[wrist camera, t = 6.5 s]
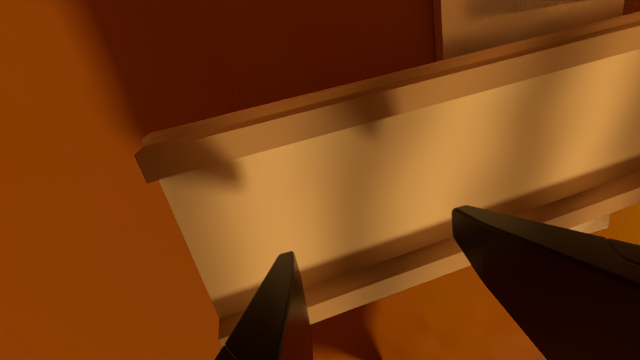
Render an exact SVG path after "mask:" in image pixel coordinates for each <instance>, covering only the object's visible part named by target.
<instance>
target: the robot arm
mask: <svg viewBox="0 0 640 360" xmlns="http://www.w3.org/2000/svg"><path fill="white" fill-rule="evenodd" d="M452 233H453V237H454V239H455V241H456V243H457V244H458V246H459V247H460V249H461V250H462V252H463V253H464V255H465V256H466V258H467V259H468V261H469V262H470V264H471V265H472V267H473V268H474V270H475V271H476V273H477V274H478V276H479V277H480V279H481V280H482V281H483V283H484V284H485V285H486V287H487V288H488V289H489V290H490V292H491V293H492V294H493V295H494V296H495V298H496V299H497V300H498V301H499V302H500V304H501V305H502V306H503V307H504V308H505V310H506V311H507V312H508V313H509V314H510V316H511V317H512V318H513V319H514V320H515V322H516V323H517V324H518V325H519V326H520V328H521V329H522V330H523V331H524V333H525V334H526V335H527V336H528V337H529V339H530V340H531V341H532V342H533V343H534V345H535V346H536V347H537V348H538V349H539V351H540V352H541V353H542V354H543V355H544V357H545V358H546V359H547V360H640V245H636V244H631V243H627V242H623V241H619V240H614V239H610V238H609V239H606V238H605V237H601V236H597V235H593V234H588V233H584V232H580V231H576V230H571V229H567V228H563V227H558V226H554V225H550V224H546V223H541V222H537V221H533V220H529V219H524V218H520V217H516V216H512V215H507V214H503V213H499V212H494V211H490V210H486V209H482V208H477V207H473V206H469V205H464V206H460V207H456V208H454V209H453V210H452ZM215 360H313V350H312V336H311V327H310V321H309V315H308V310H307V305H306V300H305V294H304V289H303V284H302V279H301V275H300V271H299V268H298V264H297V261H296V257H295V254H294V252H293V251H289V252H285V253H281V254H279V255H278V257H277V258H276V260H275V262H274V263H273V265H272V267H271V268H270V270H269V272H268V273H267V275H266V277H265V278H264V280H263V281H262V283H261V285H260V286H259V288H258V290H257V291H256V293H255V295H254V296H253V298H252V300H251V301H250V303H249V304H248V306H247V308H246V309H245V311H244V313H243V314H242V316H241V318H240V319H239V321H238V323H237V324H236V326H235V327H234V329H233V331H232V332H231V334H230V336H229V337H228V339H227V341H226V342H225V345H224V346H223V347H222V349H221V350H220V352H219V354H218V355H217V357H216V358H215Z"/></svg>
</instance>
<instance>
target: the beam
mask: <svg viewBox="0 0 640 360" xmlns="http://www.w3.org/2000/svg"><path fill="white" fill-rule="evenodd" d="M141 141H142V143H143V146H144V147H143V148H142V149H141V150H140V151H139V152H138V153H137V154H136V155H135V158H136V160H137V162H138V165H139V167H140V169H141V171H142V173H143V176H144V178H145V180H146V182H147V183H149V182H153V181H157V180H159V182H160V184H161V187H162V189H163V191H164V193H165V196H166V198H167V200H168V202H169V205H170V207H171V209H172V212H173V214H174V216H175V218H176V221H177V223H178V225H179V227H180V230H181V232H182V234H183V237H184V239H185V241H186V243H187V246H188V248H189V250H190V252H191V255H192V257H193V259H194V262H195V264H196V266H197V268H198V271H199V273H200V275H201V278H202V280H203V282H204V284H205V287H206V289H207V291H208V293H209V296H210V298H211V300H212V303H213V305H214V307H215V309H216V312H217V314H218V316H219V318H220V320H219V342H220V344H221V346H222V347H223V346H224V345H225V342H226V341H227V339H228V337H229V336H230V334H231V332H232V331H233V329H234V327H235V326H236V324H237V323H238V321H239V319H240V318H241V316H242V314H243V313H244V311H245V309H246V308H247V306H248V304H249V303H250V301H251V300H252V298H253V296H254V295H255V293H256V291H257V290H258V288H259V286H260V285H261V283H262V281H263V280H264V278H265V277H266V275H267V273H268V272H269V270H270V268H271V267H272V265H273V263H274V262H275V260H276V258H277V257H278V255H279V254H281V253H285V252H289V251H293V252H294V254H295V257H296V261H297V264H298V268H299V271H300V275H301V279H302V284H303V289H304V294H305V300H306V305H307V310H308V315H309V321H310V325H311V324H313V323H316V322H319V321H321V320H324V319H327V318H329V317H332V316H335V315H338V314H340V313H343V312H346V311H348V310H351V309H354V308H356V307H359V306H362V305H364V304H367V303H370V302H373V301H375V300H378V299H381V298H383V297H386V296H389V295H391V294H394V293H397V292H400V291H402V290H405V289H408V288H410V287H413V286H416V285H418V284H421V283H424V282H427V281H429V280H432V279H435V278H437V277H440V276H443V275H445V274H448V273H451V272H454V271H456V270H459V269H462V268H464V267H467V266H470V265H471V264H470V262H469V261H468V259H467V258H466V256H465V255H464V253H463V252H462V250H461V249H460V247H459V246H458V244H457V243H456V241H455V239H454V237H453V233H452V210H453V209H454V208H456V207H460V206H464V205H469V206H473V207H477V208H482V209H486V210H490V211H494V212H499V213H503V214H507V215H512V216H516V217H520V218H524V219H529V220H533V221H537V222H541V223H546V224H550V225H554V226H558V227H563V228H567V229H570V228H572V227H575V226H578V225H580V224H583V223H586V222H588V221H591V220H594V219H597V218H599V217H602V216H605V215H607V214H610V213H613V212H615V211H618V210H621V209H623V208H626V207H629V206H632V205H634V204H637V203H640V11H639V12H635V13H631V14H627V15H623V16H619V17H615V18H611V19H607V20H603V21H599V22H595V23H591V24H587V25H583V26H579V27H575V28H571V29H567V30H563V31H559V32H555V33H551V34H547V35H542V36H538V37H534V38H530V39H526V40H522V41H518V42H514V43H510V44H506V45H502V46H498V47H494V48H490V49H486V50H482V51H478V52H474V53H470V54H466V55H462V56H458V57H454V58H450V59H446V60H442V61H438V62H434V63H430V64H426V65H422V66H418V67H413V68H409V69H405V70H401V71H397V72H393V73H389V74H385V75H381V76H377V77H373V78H369V79H365V80H361V81H357V82H353V83H349V84H345V85H341V86H337V87H333V88H329V89H325V90H321V91H317V92H313V93H309V94H305V95H301V96H297V97H293V98H289V99H284V100H280V101H276V102H272V103H268V104H264V105H260V106H256V107H252V108H248V109H244V110H240V111H236V112H232V113H228V114H224V115H220V116H216V117H212V118H208V119H204V120H200V121H196V122H192V123H188V124H184V125H180V126H176V127H172V128H168V129H164V130H159V131H155V132H151V133H149V134H147V135H146V136H145V137H144V138H143V139H142V140H141Z"/></svg>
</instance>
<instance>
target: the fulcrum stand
mask: <svg viewBox="0 0 640 360" xmlns="http://www.w3.org/2000/svg"><path fill="white" fill-rule="evenodd" d="M624 1H625V0H433V14H434V31H435V49H436V62H438V61H442V60H446V59H450V58H454V57H458V56H462V55H466V54H470V53H474V52H478V51H482V50H486V49H490V48H494V47H498V46H502V45H506V44H510V43H514V42H518V41H522V40H526V39H530V38H534V37H538V36H542V35H547V34H551V33H555V32H559V31H563V30H567V29H571V28H575V27H579V26H583V25H587V24H591V23H595V22H599V21H603V20H607V19H611V18H615V17H619V16H622V14H623V8H624ZM609 218H610V214H607V215H605V216H602V217H599V218H597V219H594V220H591V221H588V222H586V223H583V224H580V225H578V226H575V227H572V228H570V229H571V230H576V231H580V232H584V233H592V232H595V231H599V230H603V229H606V228H608V224H609Z"/></svg>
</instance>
